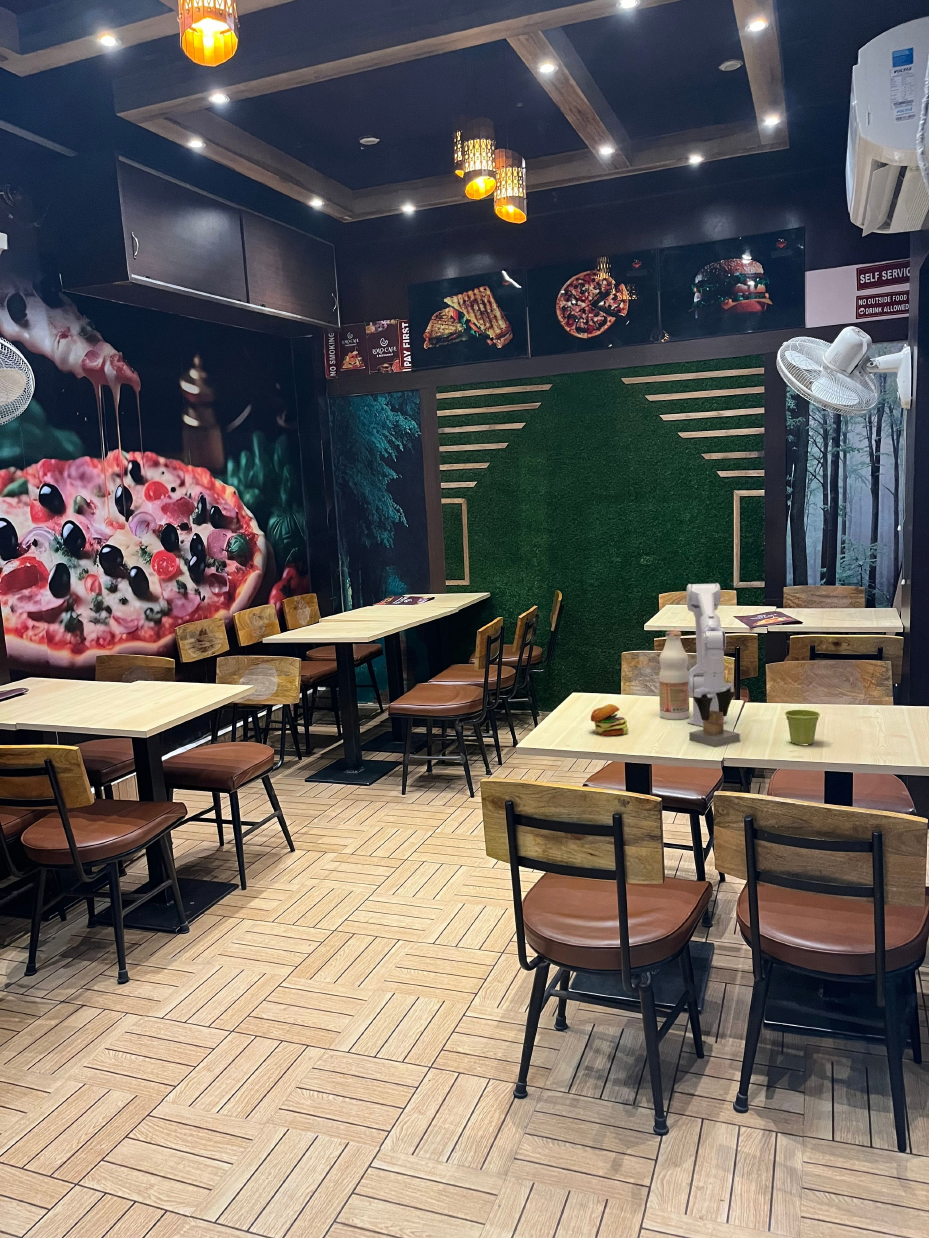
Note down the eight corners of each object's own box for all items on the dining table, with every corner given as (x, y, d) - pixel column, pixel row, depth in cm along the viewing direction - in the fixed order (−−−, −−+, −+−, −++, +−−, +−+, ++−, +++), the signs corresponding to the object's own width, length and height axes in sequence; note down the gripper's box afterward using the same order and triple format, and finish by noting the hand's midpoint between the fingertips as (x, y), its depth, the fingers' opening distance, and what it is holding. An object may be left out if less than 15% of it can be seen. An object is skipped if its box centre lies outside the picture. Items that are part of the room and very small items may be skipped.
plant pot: (823, 747, 249) (823, 716, 248) (787, 747, 251) (788, 717, 250) (816, 738, 259) (816, 709, 258) (782, 738, 260) (782, 709, 259)
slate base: (713, 736, 268) (713, 726, 268) (739, 743, 259) (739, 733, 259) (689, 742, 263) (689, 732, 263) (715, 749, 254) (715, 738, 254)
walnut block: (712, 730, 264) (712, 710, 263) (723, 732, 260) (722, 712, 260) (703, 732, 262) (702, 712, 261) (714, 734, 258) (713, 714, 258)
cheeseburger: (622, 738, 268) (614, 705, 268) (590, 743, 274) (582, 711, 274) (634, 730, 277) (626, 698, 277) (603, 735, 282) (595, 704, 282)
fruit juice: (654, 717, 293) (652, 632, 290) (670, 712, 299) (669, 629, 296) (678, 721, 286) (677, 634, 283) (695, 716, 293) (693, 631, 289)
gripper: (707, 677, 252) (707, 724, 253) (741, 670, 259) (741, 716, 261) (688, 673, 257) (688, 720, 259) (722, 667, 265) (722, 712, 267)
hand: (714, 717), depth 260 cm, fingers open, 7 cm apart
